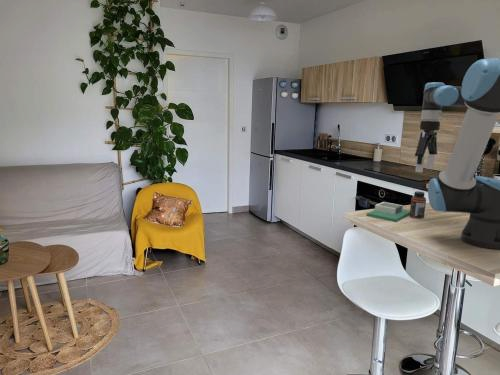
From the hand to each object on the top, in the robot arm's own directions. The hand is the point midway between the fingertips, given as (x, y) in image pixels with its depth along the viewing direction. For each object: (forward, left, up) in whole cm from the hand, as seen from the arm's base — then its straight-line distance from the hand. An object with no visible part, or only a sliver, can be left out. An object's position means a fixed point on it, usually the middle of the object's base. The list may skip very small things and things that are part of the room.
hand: (424, 170), depth 162 cm
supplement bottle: (-1, +1, -21) cm, 21 cm away
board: (-6, +11, -21) cm, 24 cm away
